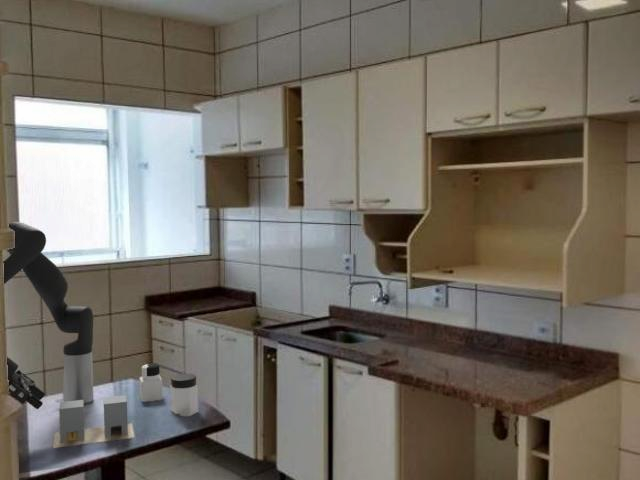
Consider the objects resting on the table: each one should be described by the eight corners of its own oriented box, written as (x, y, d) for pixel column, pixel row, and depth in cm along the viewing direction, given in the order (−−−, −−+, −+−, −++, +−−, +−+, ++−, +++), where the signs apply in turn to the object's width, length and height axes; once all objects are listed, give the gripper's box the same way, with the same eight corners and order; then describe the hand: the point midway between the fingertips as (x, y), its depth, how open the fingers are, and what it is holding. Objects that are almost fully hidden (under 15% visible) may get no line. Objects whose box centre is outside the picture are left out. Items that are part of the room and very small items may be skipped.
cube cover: (60, 443, 181) (59, 409, 180) (61, 435, 187) (60, 402, 186) (84, 440, 183) (83, 406, 182) (84, 432, 189) (83, 399, 188)
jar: (199, 407, 213) (198, 372, 212) (196, 416, 205) (196, 380, 204) (172, 408, 212) (171, 373, 211) (168, 417, 204) (168, 380, 203)
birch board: (53, 451, 178) (53, 447, 178) (55, 435, 189) (55, 432, 189) (134, 440, 185) (134, 437, 185) (132, 426, 196) (132, 423, 196)
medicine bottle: (160, 394, 228) (159, 361, 227) (162, 400, 221) (162, 366, 220) (139, 396, 225) (139, 363, 225) (141, 402, 219) (141, 368, 218)
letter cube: (65, 441, 182) (64, 427, 182) (65, 436, 186) (65, 422, 186) (79, 439, 184) (79, 426, 183) (80, 434, 187) (79, 421, 187)
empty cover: (104, 437, 185) (103, 404, 184) (104, 429, 191) (103, 397, 190) (127, 434, 187) (126, 401, 186) (126, 427, 193) (125, 395, 192)
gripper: (2, 362, 171) (49, 399, 175) (8, 350, 184) (52, 384, 189) (-19, 383, 169) (29, 420, 174) (-11, 369, 183) (34, 404, 187)
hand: (41, 401), depth 181 cm, fingers open, 8 cm apart
